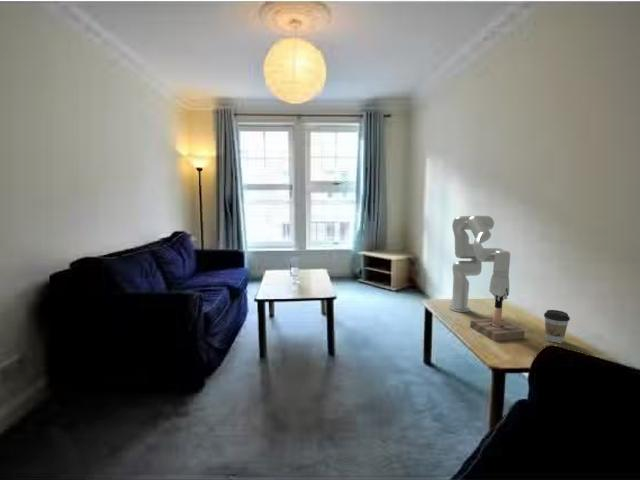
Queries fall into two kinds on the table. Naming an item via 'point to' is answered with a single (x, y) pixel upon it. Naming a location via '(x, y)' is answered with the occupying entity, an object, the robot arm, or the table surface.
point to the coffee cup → (556, 325)
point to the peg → (497, 317)
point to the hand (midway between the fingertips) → (498, 307)
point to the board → (497, 330)
